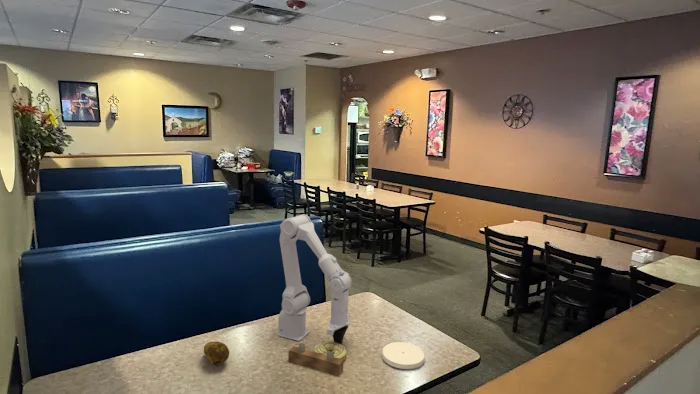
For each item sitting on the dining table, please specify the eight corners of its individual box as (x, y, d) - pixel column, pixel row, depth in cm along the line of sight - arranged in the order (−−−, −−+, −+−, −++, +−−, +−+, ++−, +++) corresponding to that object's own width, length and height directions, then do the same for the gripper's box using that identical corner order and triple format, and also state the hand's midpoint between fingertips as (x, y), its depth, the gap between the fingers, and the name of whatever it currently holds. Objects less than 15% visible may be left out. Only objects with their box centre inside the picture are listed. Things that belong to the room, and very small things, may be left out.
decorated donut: (332, 371, 131) (332, 360, 130) (307, 358, 137) (307, 348, 137) (352, 357, 139) (352, 346, 139) (327, 346, 146) (327, 336, 145)
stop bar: (288, 361, 135) (288, 344, 134) (293, 357, 138) (293, 340, 137) (338, 376, 128) (339, 358, 127) (342, 371, 131) (343, 353, 130)
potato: (231, 350, 140) (231, 328, 139) (228, 372, 128) (228, 348, 127) (205, 352, 139) (204, 330, 137) (200, 375, 126) (199, 350, 125)
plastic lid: (413, 346, 148) (414, 340, 148) (431, 369, 135) (431, 362, 134) (376, 351, 144) (376, 344, 144) (390, 374, 131) (391, 367, 131)
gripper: (341, 319, 134) (339, 358, 136) (358, 302, 147) (356, 338, 149) (321, 315, 136) (320, 353, 139) (340, 298, 149) (338, 334, 152)
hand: (338, 345), depth 144 cm, fingers closed
